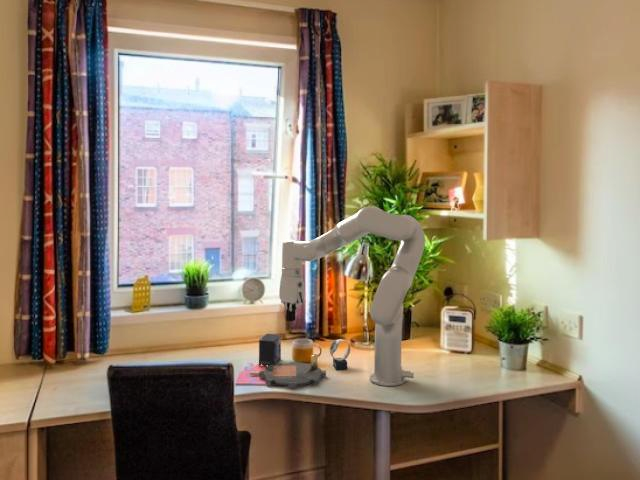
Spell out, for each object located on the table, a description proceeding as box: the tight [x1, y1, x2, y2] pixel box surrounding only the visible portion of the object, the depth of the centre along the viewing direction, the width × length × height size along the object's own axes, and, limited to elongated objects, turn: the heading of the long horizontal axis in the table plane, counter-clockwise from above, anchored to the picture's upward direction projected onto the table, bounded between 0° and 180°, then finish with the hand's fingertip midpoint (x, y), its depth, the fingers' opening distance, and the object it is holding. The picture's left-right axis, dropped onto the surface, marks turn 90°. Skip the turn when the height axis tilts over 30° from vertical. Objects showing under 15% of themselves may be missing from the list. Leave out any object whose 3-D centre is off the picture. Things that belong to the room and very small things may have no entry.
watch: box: [328, 338, 351, 371], centre depth 213 cm, size 6×8×11 cm
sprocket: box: [258, 353, 327, 389], centre depth 202 cm, size 24×24×7 cm
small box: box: [258, 333, 282, 366], centre depth 220 cm, size 11×6×10 cm, turn 168°
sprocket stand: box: [249, 370, 260, 376], centre depth 203 cm, size 21×10×1 cm, turn 79°
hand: (290, 320), depth 209 cm, fingers closed
